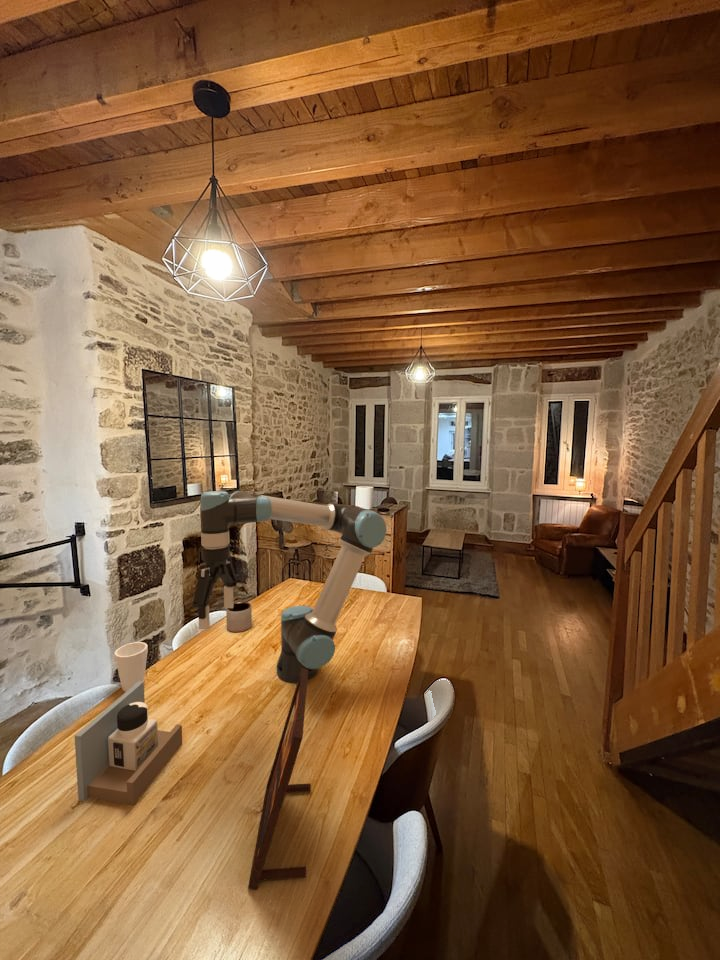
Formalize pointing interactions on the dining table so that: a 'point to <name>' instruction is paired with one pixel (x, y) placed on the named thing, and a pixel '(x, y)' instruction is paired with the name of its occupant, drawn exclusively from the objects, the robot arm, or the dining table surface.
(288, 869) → the picture frame
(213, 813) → the dining table surface
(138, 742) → the container
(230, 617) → the planter
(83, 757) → the wall shelf
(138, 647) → the foam cup
